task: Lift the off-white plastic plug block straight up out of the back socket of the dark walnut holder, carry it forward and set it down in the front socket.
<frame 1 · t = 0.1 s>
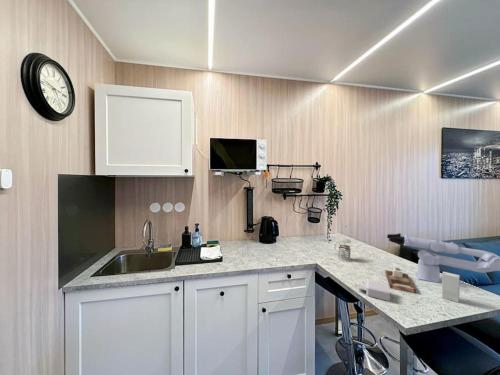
hand: (388, 237, 132), 22 cm above the countertop, tool horizontal, fingers open, 7 cm apart
plug: (397, 278, 124), resting in socket holder
charger: (371, 293, 106), on the countertop
skincare box: (450, 299, 102), on the countertop
socket holder: (399, 282, 119), on the countertop
french press: (342, 259, 153), on the countertop
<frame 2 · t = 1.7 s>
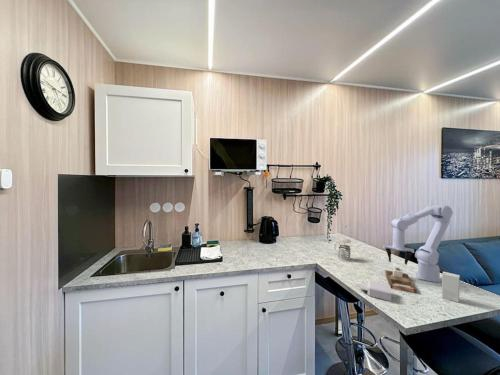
hand: (397, 262, 124), 9 cm above the countertop, tool pointing down, fingers open, 7 cm apart
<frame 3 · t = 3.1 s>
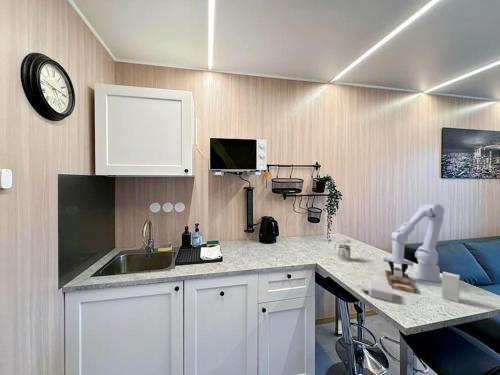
hand: (397, 275, 124), 1 cm above the countertop, tool pointing down, fingers closed on plug, 4 cm apart
plug: (397, 278, 124), resting in socket holder, touching gripper
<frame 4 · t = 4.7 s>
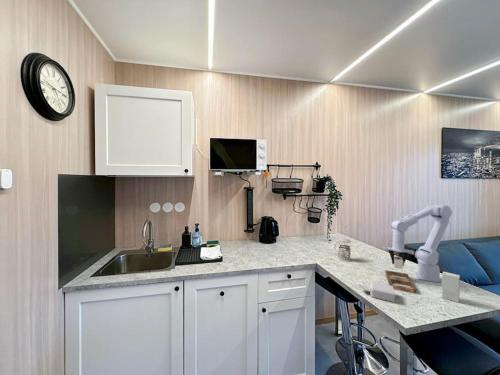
hand: (397, 264, 124), 8 cm above the countertop, tool pointing down, fingers closed on plug, 4 cm apart
plug: (397, 266, 124), point 7 cm above the countertop, touching gripper
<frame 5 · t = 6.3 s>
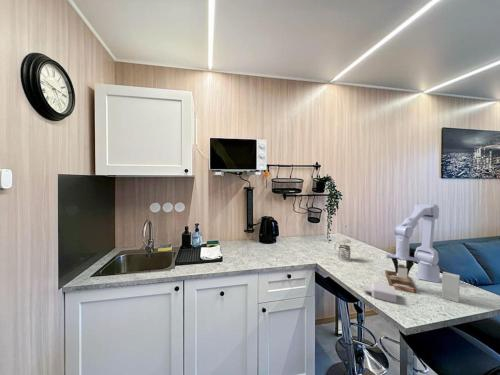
hand: (401, 273, 113), 7 cm above the countertop, tool pointing down, fingers closed on plug, 4 cm apart
plug: (401, 276, 113), point 6 cm above the countertop, touching gripper
when the fingers open (2 cm above the countertop, at t = 7.7 s): plug stays where it is, resting in socket holder.
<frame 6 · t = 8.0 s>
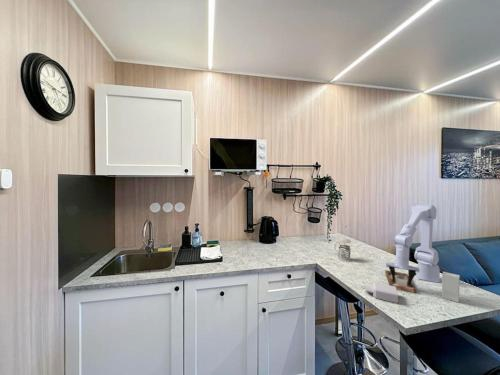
hand: (401, 282, 113), 2 cm above the countertop, tool pointing down, fingers open, 6 cm apart
plug: (401, 286, 113), resting in socket holder
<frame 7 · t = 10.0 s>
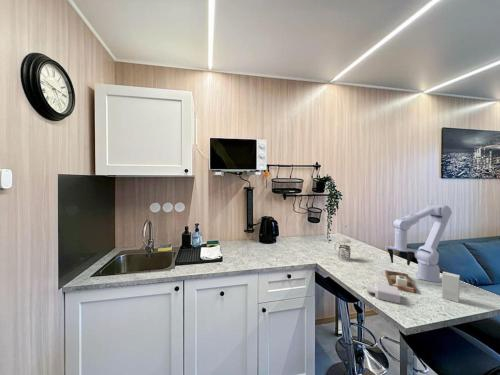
hand: (400, 263, 122), 9 cm above the countertop, tool pointing down, fingers open, 7 cm apart
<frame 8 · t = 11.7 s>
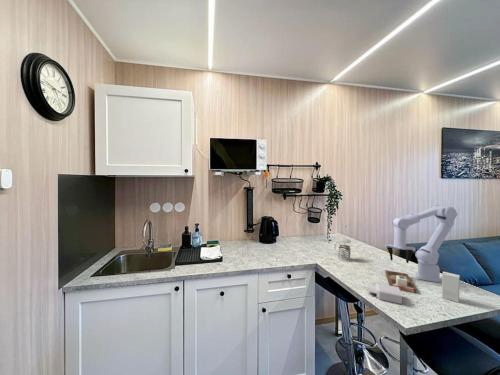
hand: (399, 261, 125), 9 cm above the countertop, tool pointing down, fingers open, 7 cm apart
at the end: plug 0.2 cm from the target spot on the socket holder, point 0.0 cm above the socket holder's base; plug tilted 0°; the gripper is holding nothing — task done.
